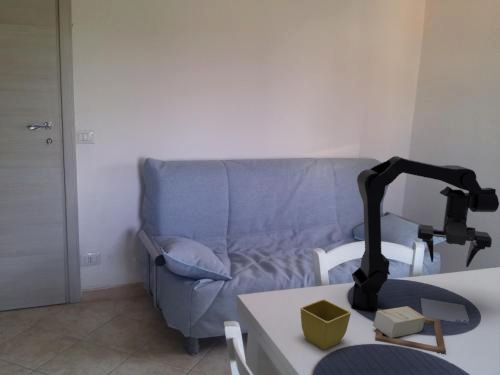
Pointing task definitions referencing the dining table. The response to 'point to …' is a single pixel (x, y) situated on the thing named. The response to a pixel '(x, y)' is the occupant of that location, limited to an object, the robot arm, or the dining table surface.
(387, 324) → the skincare box
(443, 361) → the dining table surface
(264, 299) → the dining table surface
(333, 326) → the flower pot
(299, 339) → the dining table surface
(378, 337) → the walnut holder frame
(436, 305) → the grey square plate
